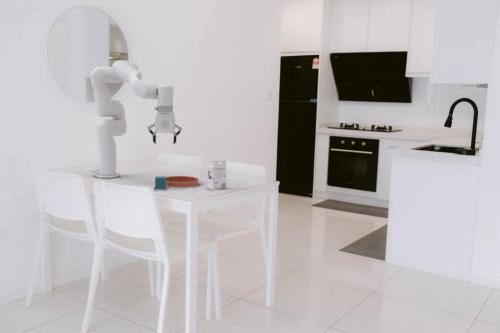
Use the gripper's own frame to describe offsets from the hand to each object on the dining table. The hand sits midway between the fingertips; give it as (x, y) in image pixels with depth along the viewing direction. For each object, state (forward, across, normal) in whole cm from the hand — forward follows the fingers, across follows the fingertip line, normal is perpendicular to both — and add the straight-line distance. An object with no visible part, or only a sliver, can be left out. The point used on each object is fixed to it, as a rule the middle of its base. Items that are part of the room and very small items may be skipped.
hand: (164, 143), depth 239 cm
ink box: (+22, +26, -8) cm, 35 cm away
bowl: (+22, +8, +2) cm, 23 cm away
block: (+22, -1, -10) cm, 24 cm away
